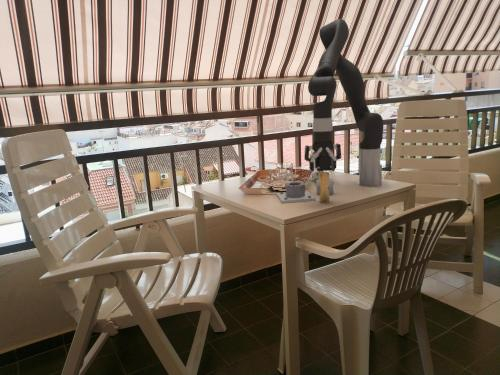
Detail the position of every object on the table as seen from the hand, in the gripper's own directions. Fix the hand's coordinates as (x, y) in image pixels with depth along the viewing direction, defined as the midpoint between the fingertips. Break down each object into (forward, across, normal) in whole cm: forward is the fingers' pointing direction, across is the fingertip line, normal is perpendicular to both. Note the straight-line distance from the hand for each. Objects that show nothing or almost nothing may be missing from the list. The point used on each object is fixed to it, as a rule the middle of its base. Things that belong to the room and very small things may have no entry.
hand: (322, 170), depth 151 cm
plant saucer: (+14, +10, -28) cm, 33 cm away
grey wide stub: (+13, -4, -13) cm, 19 cm away
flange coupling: (+13, +10, -10) cm, 19 cm away
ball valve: (+13, -9, -38) cm, 41 cm away
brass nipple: (+13, -1, 0) cm, 13 cm away
